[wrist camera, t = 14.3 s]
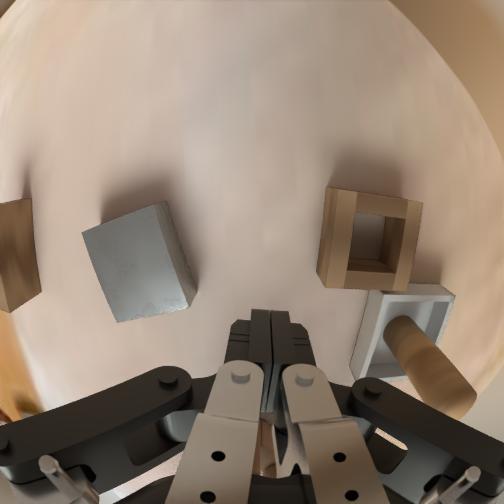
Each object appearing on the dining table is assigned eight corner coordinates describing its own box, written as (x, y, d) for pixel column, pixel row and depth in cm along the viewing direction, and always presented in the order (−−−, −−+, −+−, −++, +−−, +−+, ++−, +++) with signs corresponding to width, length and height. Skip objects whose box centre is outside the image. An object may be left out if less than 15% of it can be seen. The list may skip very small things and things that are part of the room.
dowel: (407, 345, 21) (462, 421, 11) (378, 346, 21) (429, 431, 11) (417, 315, 20) (484, 386, 10) (388, 315, 20) (451, 395, 10)
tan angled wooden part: (237, 398, 23) (218, 584, 6) (303, 444, 25) (319, 585, 8) (210, 413, 24) (178, 579, 7) (277, 456, 26) (281, 589, 8)
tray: (413, 361, 22) (424, 376, 19) (349, 366, 22) (356, 384, 20) (439, 284, 20) (455, 295, 17) (371, 281, 20) (384, 294, 17)
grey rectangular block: (198, 290, 21) (189, 307, 18) (132, 305, 21) (117, 322, 18) (168, 200, 19) (153, 204, 16) (102, 224, 20) (81, 232, 17)
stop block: (44, 292, 21) (-2, 324, 14) (29, 289, 21) (-16, 317, 14) (34, 198, 19) (-23, 210, 12) (19, 199, 19) (-35, 211, 12)
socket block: (389, 276, 20) (406, 291, 17) (316, 271, 20) (325, 287, 17) (402, 198, 18) (422, 202, 15) (326, 187, 18) (338, 189, 15)
